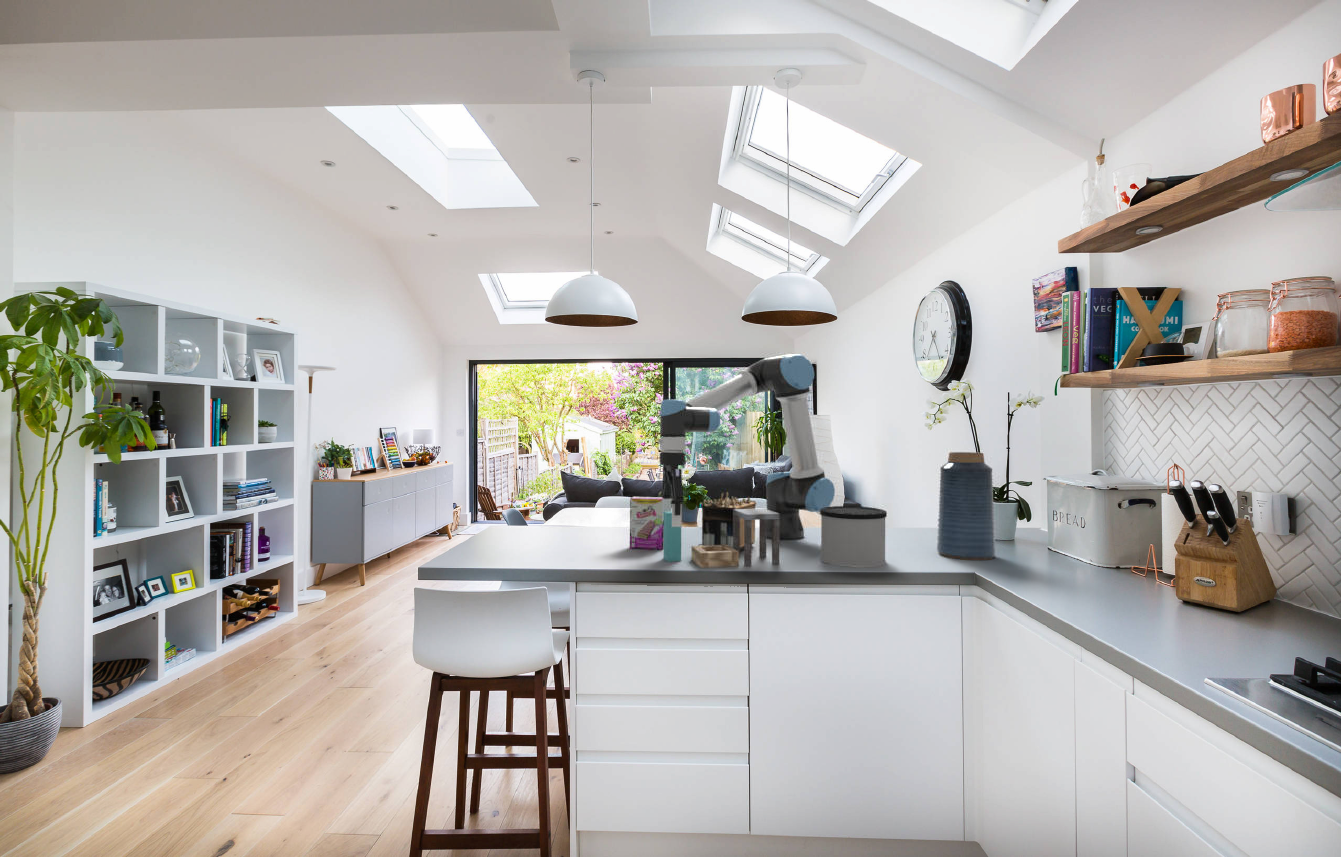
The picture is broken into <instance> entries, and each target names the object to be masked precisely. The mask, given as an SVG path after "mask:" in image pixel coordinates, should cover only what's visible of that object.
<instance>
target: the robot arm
mask: <svg viewBox="0 0 1341 857" xmlns="http://www.w3.org/2000/svg"><path fill="white" fill-rule="evenodd" d="M814 379H815V370H814V367H813V364H812V362H811V361H810V360H809V358H806V356H805V355H803V354H796V353H795V354H792V353H790V354H785V355H777V356H772V357H771V356H770V357H765V358H762V359H760V360H758V361H756V362H755V363H753V364H751V365H749V366H748V367H745V368H744V369H742V370H740V371H738V373H737V375H736V376H735V377H732V378H731V379H729V380H727V381H725V382H723V383H721V384H720V385H718V386H715V387H713V388H712V389H710V390H708V391H706V392H704V393H702V394H700V395H698V396H696V397H694V398H692V399H691V400H689V401H687V402H686V401H685V399H675V398H674V399H671V398H670V399H663V400H662V401H661V403H660V411H659V412H660V413H659V420H660V421H659V423H660V425H659V426H660V428H659V429H660V430H659V435H660V438H659V439H658V441H657V442H658V444H659V450H660V453H659V464H660V465H661V466H663V468H662V469H663V475H662V482H661V483H662V484H661V490H660V497H662V498H664V499H662V520H664V511H672V527H681V528H682V521H683V520H682V519H683V517H682V516H683V515H682V514H683V510H682V508H683V507H682V506H683V503H684V502H685V498H684V488H683V479H682V476H683V474H682V472H683V470H682V469H681V468H679V466H684V465H685V463H686V453H685V452H684V451H686V432H687V433H715V432H716V431H717V430H718V429H719V427H720V424H721V416H720V412H721V411H722V410H723V409H725V408H727V407H729V406H730V405H732V404H735V403H736V402H738V401H740V400H742V399H744V398H746V397H747V396H748V397H753V396H755V395H756V394H760V393H765V392H771V391H772V392H774V397H775V399H776V400H777V401H779V403H780V406H781V411H782V416H783V421H784V426H785V432H786V433H785V434H786V438H787V443H788V448H789V454H790V459H791V465H792V466H791V467H792V471H783V472H782V471H781V472H772V473H769V474H767V476H766V482H765V486H766V490H765V491H766V509H767V510H770V511H773V512H776V513H779V540H794V539H795V540H796V539H802V538H804V537H805V529H804V526H803V523H802V520H801V516H800V510H801V511H807V512H810V513H816V512H817V513H820V509H821V508H825V507H831V505H832V502H833V501H834V498H835V490H836V489H835V484H834V483H833V481H831V479H829V478H827V477H826V475H825V470H824V469H823V467H821V466H819V462H818V456H817V450H816V444H815V439H814V434H813V428H812V424H811V422H812V421H811V415H810V411H809V406H808V400H807V397H808V396H809V394H810V393H811V390H810V387H811V386H812V384H814V383H813V382H814V381H813V380H814ZM719 411H720V412H719ZM766 538H768V539H769V538H770V539H772V519H766Z"/></svg>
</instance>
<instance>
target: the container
mask: <svg viewBox="0 0 1341 857" xmlns="http://www.w3.org/2000/svg"><path fill="white" fill-rule="evenodd" d="M887 513H888V512H887V510H884V509H882V508H878V507H877V508H876V507H867V506H854V505H853V506H851V505H836V506H829V507H825V508H821V509H820V512H819V515H821V520H820V521H821V523H820V524H821V530H820V531H821V532H820V534H821V536H820V537H821V540H820V542H821V544H820V545H821V547H820V548H821V549H820V551H821V552H820V555H821V556H820V560H821V561H822V562H824V563H827V564H830V565H835V566H839V567H840V566H841V567H847V568H848V567H849V568H876V567H881V566H883V565H885V564H886V562H887V561H886V518H887V515H888V514H887Z"/></svg>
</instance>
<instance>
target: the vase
mask: <svg viewBox="0 0 1341 857" xmlns="http://www.w3.org/2000/svg"><path fill="white" fill-rule="evenodd" d="M939 474H940V476H939V479H940V480H939V495H938V496H939V501H938V502H939V503H938V506H939V507H938V519H937V527H938V528H937V544H936V549H937V551H936V552H938V553H939V554H940V555H941V556H943V557H947V558H951V559H957V560H965V561H985V560H990V559H993V558H994V557H995V555H996V539H995V538H996V536H995V534H996V533H995V529H996V528H995V521H994V520H995V518H994V513H995V512H994V508H995V507H994V492H993V491H994V485H993V467H991V466H989V465H988V464H986V463H985V456H984V453H983V452H965V451H964V452H961V451H959V452H958V451H957V452H956V451H951V452H950V451H949V453H948V458H947V462H946V463H945V464H943V465H942V466H940V473H939Z"/></svg>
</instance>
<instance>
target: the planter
mask: <svg viewBox="0 0 1341 857" xmlns="http://www.w3.org/2000/svg"><path fill="white" fill-rule="evenodd" d="M723 497H724V493H723V492H721V494H720V498H718V499H716V498H713V500H712V499H707V500H706V499H703V502H702V505H701V511H702V512H701V514H702V516H701V541H702V543H699V544H698V543H697V545H696V546H707V545H728V546H730V547H732V548H733V509H756V505H757V502H756V500H751V498H750V497H747V499H746V498H744V497H743V498H742V500H741V499H739V498H737V497H736V496H735V497H734V496H731V499H730V497H729V492H728V491H726V495H725V498H723ZM755 542H756V520H752V543H751V549H753V548H754V546H753V545H754V544H755ZM742 552H744V519H743V518H740V553H742Z"/></svg>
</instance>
